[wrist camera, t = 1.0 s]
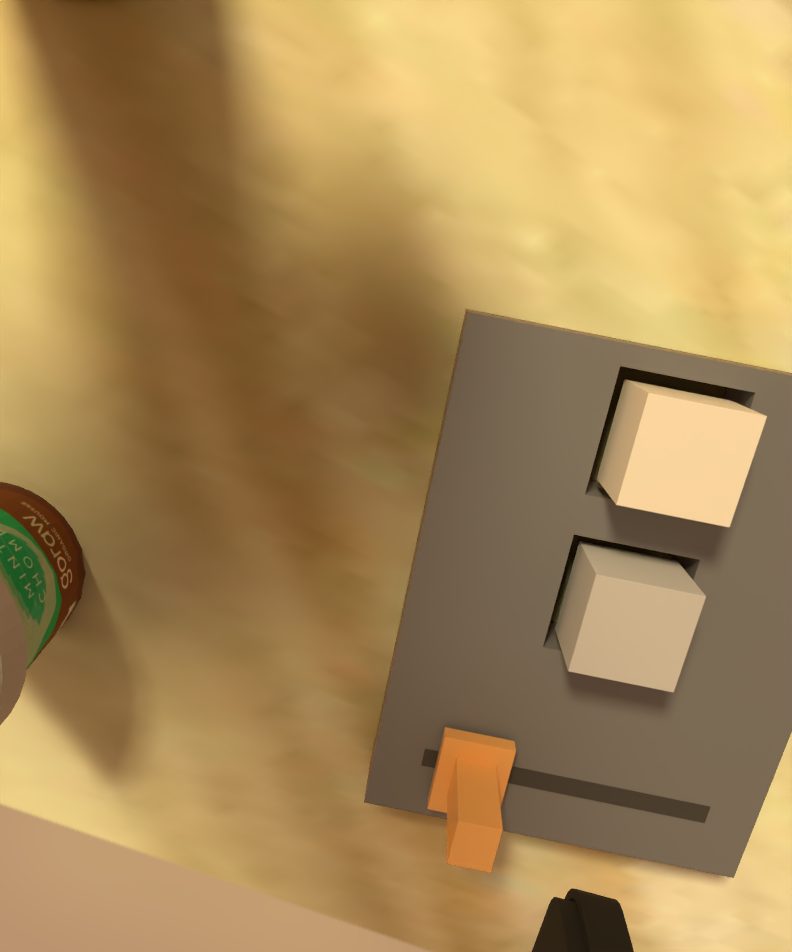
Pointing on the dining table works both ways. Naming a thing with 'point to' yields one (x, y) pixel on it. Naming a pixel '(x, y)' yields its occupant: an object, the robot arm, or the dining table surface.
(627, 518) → the switch panel
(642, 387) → the cream button
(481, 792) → the orange slider handle
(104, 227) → the dining table surface
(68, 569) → the food container
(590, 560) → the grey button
